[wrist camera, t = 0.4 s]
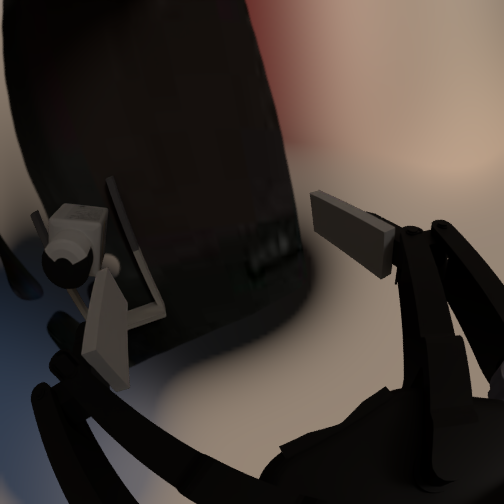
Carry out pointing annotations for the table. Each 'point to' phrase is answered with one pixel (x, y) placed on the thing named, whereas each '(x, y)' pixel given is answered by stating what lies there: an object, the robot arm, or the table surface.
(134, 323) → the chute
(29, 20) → the table surface
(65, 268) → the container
